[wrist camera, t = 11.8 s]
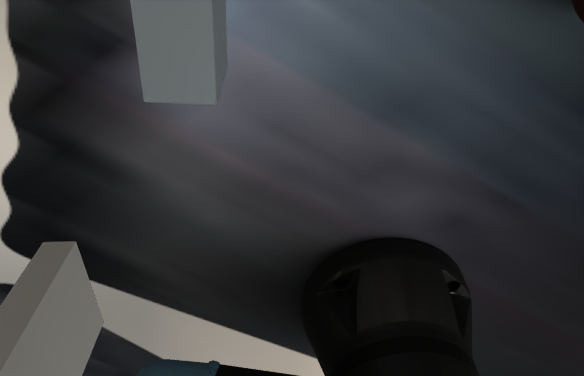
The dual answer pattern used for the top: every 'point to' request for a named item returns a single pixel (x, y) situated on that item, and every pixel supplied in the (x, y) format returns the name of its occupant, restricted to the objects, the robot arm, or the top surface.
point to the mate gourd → (579, 8)
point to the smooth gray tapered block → (181, 49)
